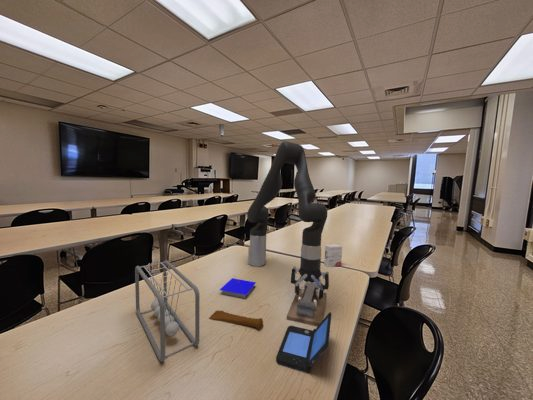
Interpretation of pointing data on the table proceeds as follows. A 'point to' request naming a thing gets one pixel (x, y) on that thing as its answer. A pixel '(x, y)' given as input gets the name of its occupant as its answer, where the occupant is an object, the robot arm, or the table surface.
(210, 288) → the table surface
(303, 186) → the robot arm
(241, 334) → the table surface
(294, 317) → the tool cradle
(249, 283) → the blue square pad
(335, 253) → the ink box
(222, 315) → the primitive tool
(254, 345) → the table surface
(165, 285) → the newton's cradle
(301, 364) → the handheld game console
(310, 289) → the grey stepped block
